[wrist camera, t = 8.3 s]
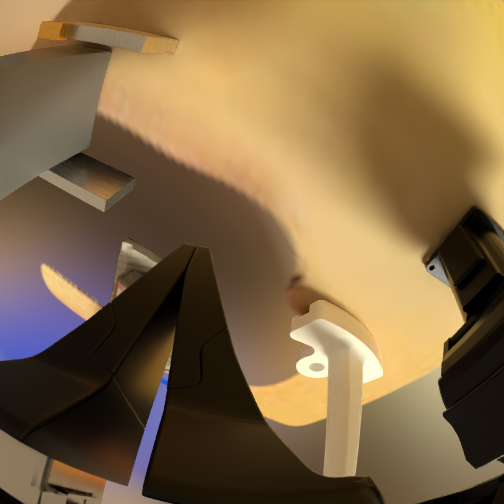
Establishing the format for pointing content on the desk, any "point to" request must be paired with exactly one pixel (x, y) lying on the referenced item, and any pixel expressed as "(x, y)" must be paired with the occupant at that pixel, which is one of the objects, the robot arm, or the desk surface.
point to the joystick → (338, 376)
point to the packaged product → (133, 269)
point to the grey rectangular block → (46, 109)
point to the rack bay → (80, 165)
